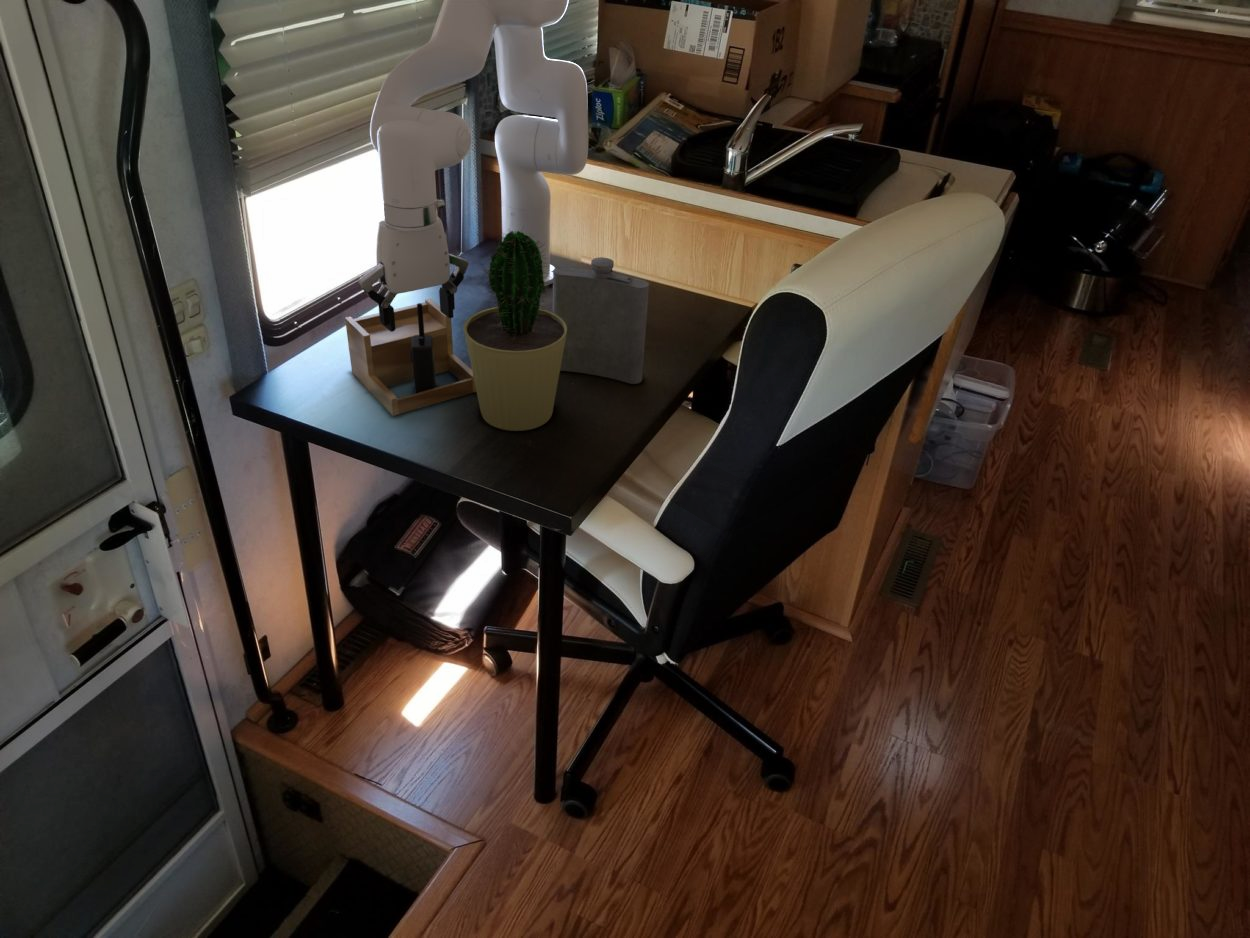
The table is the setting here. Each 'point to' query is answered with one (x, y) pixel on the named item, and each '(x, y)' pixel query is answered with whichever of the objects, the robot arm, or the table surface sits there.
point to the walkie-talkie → (422, 357)
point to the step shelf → (405, 356)
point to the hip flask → (602, 320)
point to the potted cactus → (516, 340)
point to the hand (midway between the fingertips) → (418, 321)
